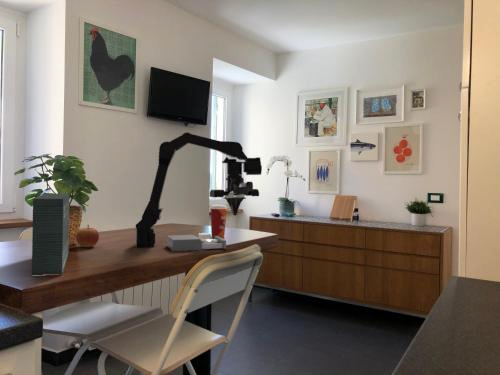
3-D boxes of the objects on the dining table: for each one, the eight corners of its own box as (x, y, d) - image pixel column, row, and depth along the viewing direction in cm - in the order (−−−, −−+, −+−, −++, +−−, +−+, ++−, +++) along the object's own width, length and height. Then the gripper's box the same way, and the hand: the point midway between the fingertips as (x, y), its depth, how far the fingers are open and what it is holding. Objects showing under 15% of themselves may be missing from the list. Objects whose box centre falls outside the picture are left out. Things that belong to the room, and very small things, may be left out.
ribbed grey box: (44, 255, 130) (45, 193, 129) (68, 254, 132) (69, 193, 132) (31, 277, 103) (32, 198, 102) (62, 275, 105) (63, 198, 105)
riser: (201, 243, 161) (201, 234, 161) (198, 241, 164) (198, 233, 164) (210, 243, 162) (210, 234, 162) (207, 241, 166) (208, 233, 166)
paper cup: (225, 238, 176) (226, 206, 175) (208, 237, 176) (209, 205, 175) (227, 235, 183) (228, 205, 183) (210, 235, 184) (211, 204, 183)
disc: (201, 246, 148) (201, 242, 148) (196, 243, 155) (196, 239, 155) (219, 245, 151) (220, 241, 151) (214, 242, 158) (214, 238, 158)
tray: (198, 249, 146) (198, 241, 146) (191, 244, 156) (191, 236, 156) (227, 248, 150) (227, 240, 150) (218, 243, 160) (218, 236, 160)
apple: (85, 244, 151) (85, 223, 151) (103, 246, 149) (103, 224, 149) (70, 248, 143) (70, 225, 143) (89, 249, 141) (89, 226, 141)
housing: (172, 251, 142) (173, 240, 142) (167, 246, 153) (167, 235, 153) (201, 250, 146) (202, 239, 146) (194, 245, 157) (194, 234, 156)
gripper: (219, 175, 145) (220, 218, 145) (265, 174, 153) (265, 216, 153) (209, 175, 155) (209, 215, 155) (252, 175, 163) (252, 213, 163)
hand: (234, 215), depth 156 cm, fingers closed
